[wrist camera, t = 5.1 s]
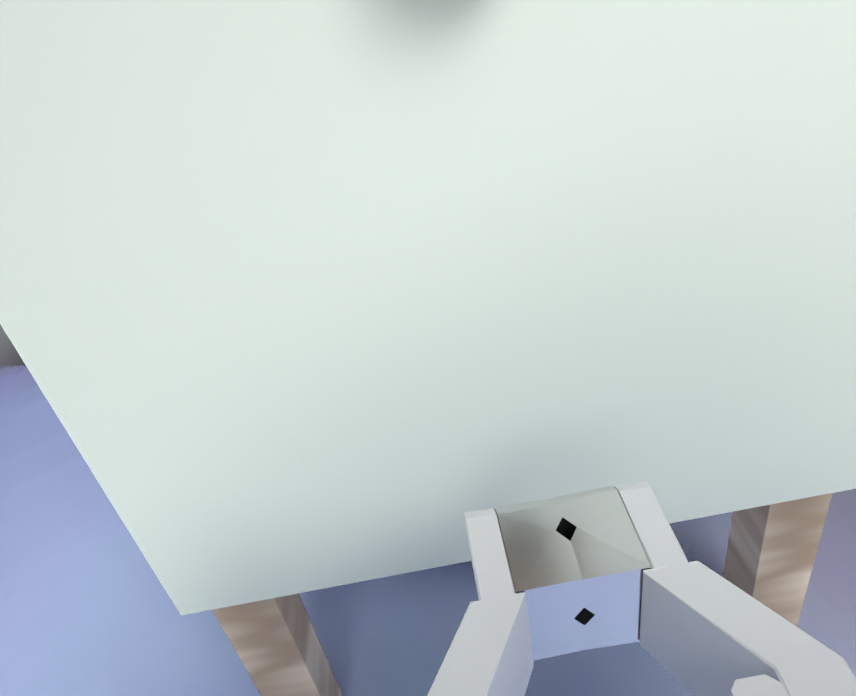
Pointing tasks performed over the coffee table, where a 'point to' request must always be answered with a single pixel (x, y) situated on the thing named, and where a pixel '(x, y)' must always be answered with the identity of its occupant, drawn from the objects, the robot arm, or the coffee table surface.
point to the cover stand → (745, 568)
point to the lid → (427, 265)
